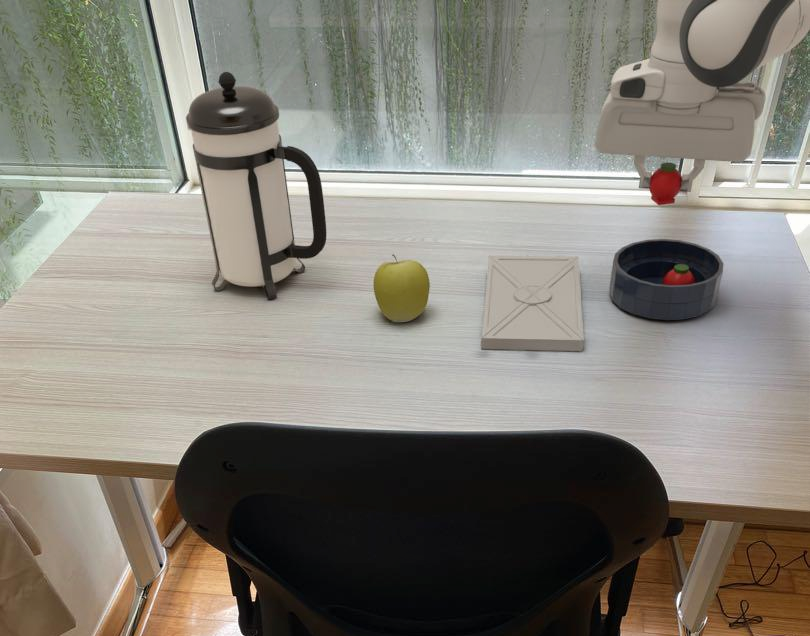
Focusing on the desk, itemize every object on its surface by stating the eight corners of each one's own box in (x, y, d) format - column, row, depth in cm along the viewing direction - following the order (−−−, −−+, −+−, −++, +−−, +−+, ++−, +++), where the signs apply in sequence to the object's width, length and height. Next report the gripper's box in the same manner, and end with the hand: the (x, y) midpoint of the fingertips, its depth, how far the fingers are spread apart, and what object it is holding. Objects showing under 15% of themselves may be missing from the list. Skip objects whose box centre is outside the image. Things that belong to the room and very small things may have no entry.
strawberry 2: (670, 193, 123) (676, 157, 120) (684, 205, 120) (691, 168, 117) (641, 197, 122) (646, 161, 119) (654, 209, 119) (660, 172, 116)
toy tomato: (692, 293, 128) (698, 261, 125) (690, 307, 125) (696, 275, 122) (661, 290, 129) (666, 258, 126) (659, 304, 126) (664, 272, 123)
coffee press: (222, 313, 130) (178, 97, 110) (205, 268, 142) (163, 65, 121) (334, 292, 134) (312, 79, 113) (309, 250, 145) (285, 49, 125)
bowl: (717, 278, 132) (724, 243, 128) (713, 328, 122) (721, 292, 118) (615, 269, 136) (620, 235, 132) (603, 317, 125) (607, 281, 121)
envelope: (481, 350, 120) (582, 352, 119) (481, 336, 119) (583, 338, 117) (488, 267, 137) (577, 268, 136) (488, 254, 136) (578, 255, 134)
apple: (431, 324, 123) (408, 258, 118) (380, 334, 127) (355, 271, 121) (443, 298, 129) (422, 234, 123) (394, 308, 132) (371, 246, 126)
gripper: (768, 75, 110) (743, 185, 120) (605, 68, 115) (593, 174, 125) (769, 90, 106) (743, 203, 115) (599, 82, 111) (587, 192, 120)
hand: (664, 188), depth 120 cm, fingers closed on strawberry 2, 4 cm apart
